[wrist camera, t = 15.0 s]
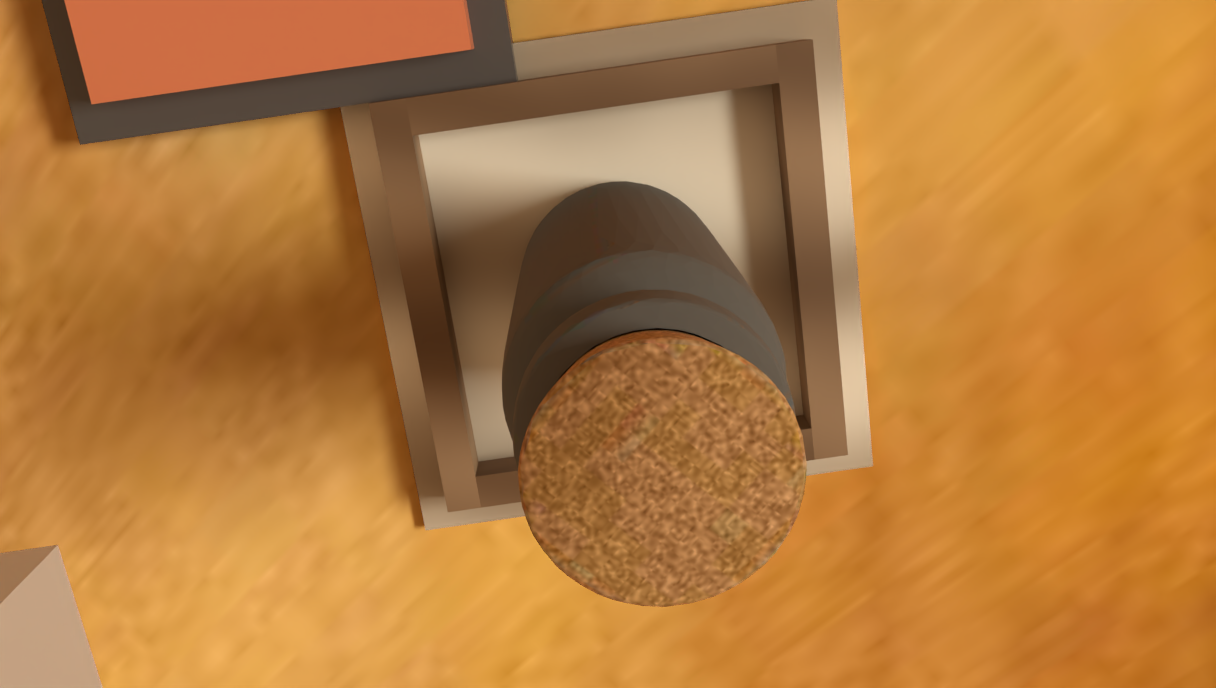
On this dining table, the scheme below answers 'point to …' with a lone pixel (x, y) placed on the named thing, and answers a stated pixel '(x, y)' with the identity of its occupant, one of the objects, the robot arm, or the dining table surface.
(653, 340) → the cork-lidded jar
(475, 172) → the frame
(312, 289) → the dining table surface
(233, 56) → the ink pad
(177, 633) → the dining table surface
